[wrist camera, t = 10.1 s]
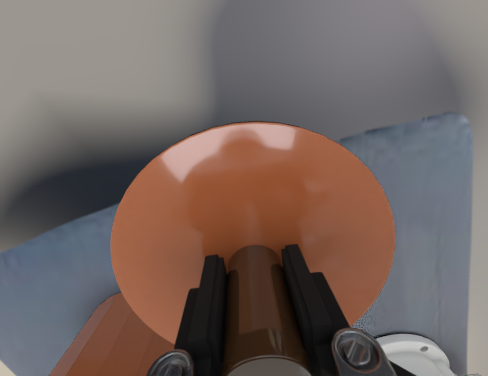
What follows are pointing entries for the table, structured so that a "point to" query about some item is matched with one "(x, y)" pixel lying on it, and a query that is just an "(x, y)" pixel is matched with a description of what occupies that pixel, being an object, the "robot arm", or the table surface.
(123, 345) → the terracotta pot
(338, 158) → the lid
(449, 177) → the table surface
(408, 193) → the table surface
